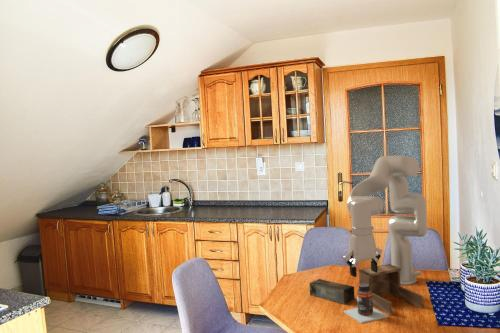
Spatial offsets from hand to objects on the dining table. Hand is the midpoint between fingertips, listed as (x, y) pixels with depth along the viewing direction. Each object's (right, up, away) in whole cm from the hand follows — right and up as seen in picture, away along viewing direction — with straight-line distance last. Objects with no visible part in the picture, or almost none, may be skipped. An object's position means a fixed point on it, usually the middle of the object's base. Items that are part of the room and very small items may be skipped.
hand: (364, 273), depth 170 cm
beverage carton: (-9, -16, +21) cm, 28 cm away
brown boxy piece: (+14, -15, +11) cm, 23 cm away
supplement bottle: (+1, -16, 0) cm, 16 cm away
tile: (0, -16, 0) cm, 16 cm away
